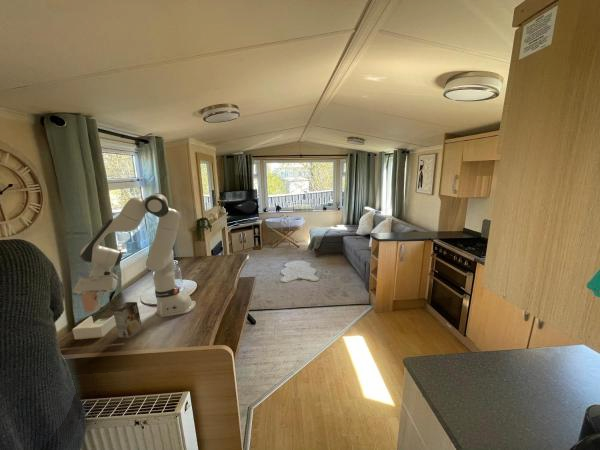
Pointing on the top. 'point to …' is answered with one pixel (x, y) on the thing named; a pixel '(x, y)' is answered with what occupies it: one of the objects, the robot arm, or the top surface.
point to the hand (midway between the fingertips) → (90, 300)
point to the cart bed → (93, 328)
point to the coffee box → (127, 319)
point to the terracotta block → (90, 301)
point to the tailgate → (100, 321)
